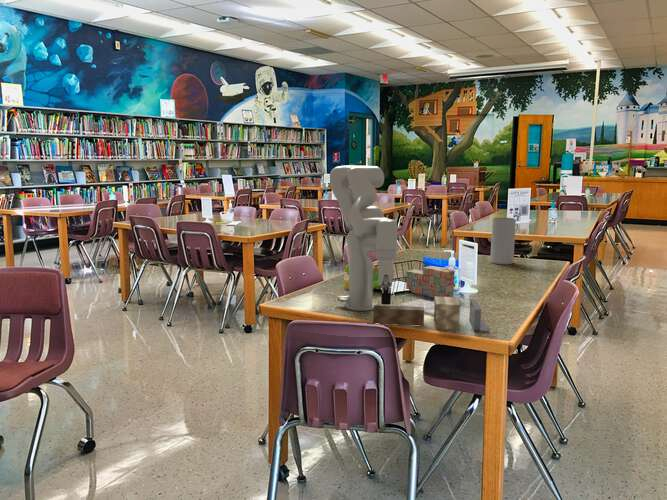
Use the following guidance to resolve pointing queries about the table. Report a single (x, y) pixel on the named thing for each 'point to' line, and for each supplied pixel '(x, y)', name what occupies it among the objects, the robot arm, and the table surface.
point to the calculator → (422, 303)
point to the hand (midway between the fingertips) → (386, 301)
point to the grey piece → (476, 317)
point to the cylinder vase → (503, 240)
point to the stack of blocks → (431, 281)
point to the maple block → (446, 313)
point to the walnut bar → (398, 315)
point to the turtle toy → (375, 277)
